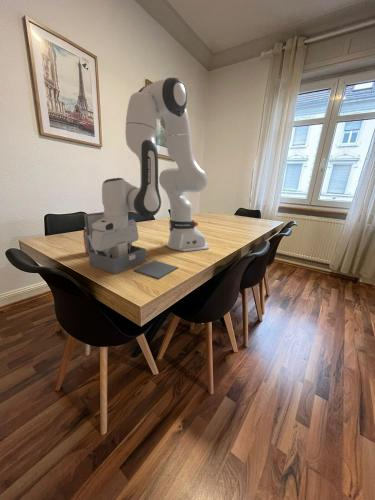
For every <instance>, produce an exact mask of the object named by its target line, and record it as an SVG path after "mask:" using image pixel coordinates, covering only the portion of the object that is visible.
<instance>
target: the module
mask: <svg viewBox="0 0 375 500" xmlns="http://www.w3.org/2000/svg"><path fill="white" fill-rule="evenodd" d="M109 254H111V255H112V259H116V258H119V257H121V256H124V255H127V254H128V245H127V242H125V241H124V242H120V243H118V244H116V247H114V248H110V249H109Z"/></svg>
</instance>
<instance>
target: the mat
mask: <svg viewBox="0 0 375 500" xmlns="http://www.w3.org/2000/svg"><path fill="white" fill-rule="evenodd" d="M178 269H179V267H178V266H176V265H172V264H169V263H165V262H161V261H158V260H153V261H150V262H149V263H146V264H143V265H141V266H140V267H137V268H134V269H133V271H134V272H137V273H139V274H142V275H145V276H148V277H151V278H154V279H157V280H160V279H162V278H163V277H166V276H167V275H169V274H171V273H172V272H175V271H176V270H178Z"/></svg>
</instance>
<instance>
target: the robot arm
mask: <svg viewBox="0 0 375 500" xmlns="http://www.w3.org/2000/svg"><path fill="white" fill-rule="evenodd" d="M187 97H188V94H187V89H186V87H185V85H184V83H183V81H182V80H181V79H180V78H177V77H167V78H165V79H160V80H156V81H154V82H152V83H150V84H148V85H146V86H145V85H144V86H142V88H140V89H139V90H138V91H136V92H134V93H133V94H131V96H129V100H128V105H127V108H126V109H127V111H126V117H125V134H124V135H125V140H126V142H125V143H126V145H127V147H128V148H129V150H130V151H131V152H132V153H133V154H135V156H136V157H137V158H138V160H139V165H140V168H139V169H140V171H139V172H140V178H139V179H140V183H139V184H140V186H139V187H137V186H134V185H132V184H130V183H129V182H127V181H126V180H125V179H124V178H123V177H114V178H107V179H105V180H104V181H103V182H102V185H101V201H102V202H101V203H102V205H103V212H104V213H103V215H104V217H103V218H101V219H100V220H98V221H96V222H94V223H93V224H92V228H93V229H95V230H94V231H93V233H92V245H93V248H94V249H95V250H97V251H103V252H104V254H105V255H106V257H109V258H112V255H111V254H109V253H108V252H109V249H110V248H114V247H116V244H118V243H120V242H124V241H125V242H127V245H128V253H130V248H131V246H132V245H133V243H134V242H137V241H138V240H139V238H140V237H139V229H138V225H137V222H136V220H134V218H133V219H129V212H132V213H135V214H138V215H140V216H142V217H144V218H152V217H154V216H155V215H157V214H158V213H159V211H160V209H161V207H162V198H161V195H160V194H161V193H160V190H159V185H160V187H161V188H162V189H163V190H164V192H165V193H166V195H167V198H168V200H169V207H170V219H169V236H168V241H167V245H166V247H167V248H169V249H172V250H175V251H180V252H191V251H192V252H193V251H201V250H202V251H203V250H208V249H210V244H209V243H208V242H206V237H205V235H204V234H203V232H201V231H200V230H199V229H198V228H197V227H198V226H199V222H197V221H195V220H193V208H194V207H193V203H191V201H190V200H189V199H187V197H186V194H185V193H190V194H191V193H192V194H195V193H199V192H203V191H204V190H205V189H206V188H207V185H208V174H207V173H206V172H205V170H203V168H201V167H200V166H199V164H198V163H197V160H196V159H195V156H194V152H193V147H192V134H191V126H190V125H191V124H190V118H189V116H188V115H189V114H188V111H187V108H186V107H187V102H188V98H187ZM158 118H162V119H163V122H164V132H165V141H166V149H167V155H168V157H169V159H171V160H173V161H174V162H175V163H176V165H177V167H178V168H177V167H173V168H172V167H170V168H166V169H163V170H161V172H160V174H159V155H158V147H157V125H158V123H157V122H158V121H157V119H158Z"/></svg>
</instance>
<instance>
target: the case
mask: <svg viewBox="0 0 375 500" xmlns="http://www.w3.org/2000/svg"><path fill="white" fill-rule="evenodd" d="M103 213H104V211H102V212H94V213H84V214H83V217H84V225H85V226H84V228H85V227H86V236H87V244H88V253H89V254H88V258H89V259H88V260H89V265H90V266H91V267H95V268H98V269H99V270H102V271H104V272H108V273H111V274H112V275H113V274H114V275H117V274H119V273H121V272H123V271H126V270H128V269H131V268H134V267H135V266H138V265H140V264H143V263H144V262H147V248H144V247H140V246H136V245H133V244H132V246H131V248H130V253H128V254H127V255H124V256H121V257H119V258H116V259H112V258H109V257H106V255H105V254H104V252H103V251H97V250H95V249H94V248H93V245H92V233H93V231H94V230H95V229H93V228H92V224H93V223H94V222H96V221H98V220H100V219H101V218H103V217H104V215H103ZM108 253H109V252H108Z"/></svg>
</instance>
